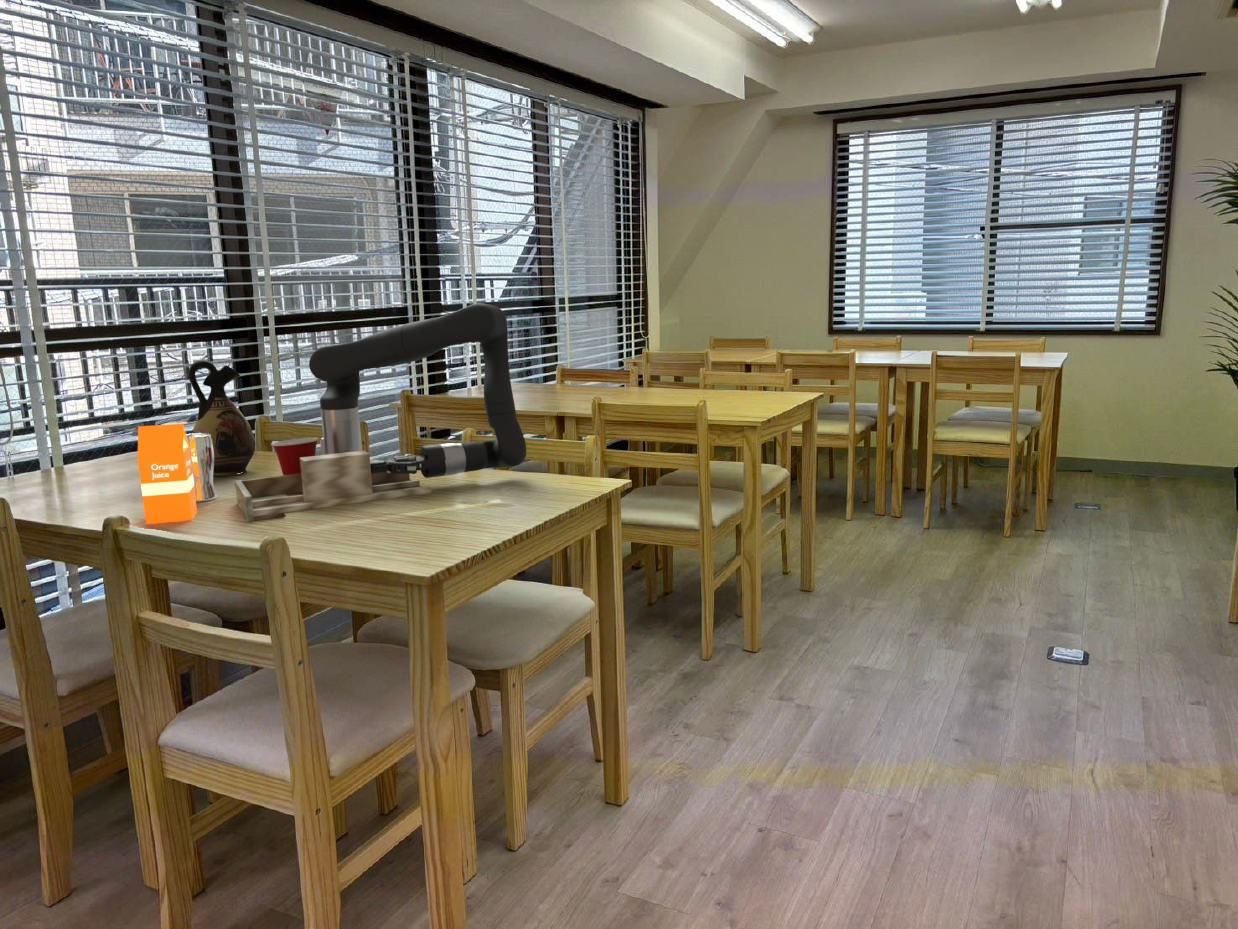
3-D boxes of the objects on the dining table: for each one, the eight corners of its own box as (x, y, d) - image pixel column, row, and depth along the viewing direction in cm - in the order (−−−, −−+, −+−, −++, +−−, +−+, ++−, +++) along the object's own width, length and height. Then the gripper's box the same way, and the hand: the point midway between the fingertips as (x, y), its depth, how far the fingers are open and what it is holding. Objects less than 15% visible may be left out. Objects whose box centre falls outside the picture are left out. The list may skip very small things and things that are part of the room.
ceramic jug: (252, 465, 251) (240, 356, 246) (262, 474, 238) (250, 359, 233) (185, 473, 243) (171, 360, 237) (192, 482, 230) (177, 364, 224)
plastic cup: (304, 481, 227) (300, 434, 225) (332, 485, 221) (327, 437, 219) (266, 490, 219) (261, 440, 216) (293, 494, 212) (288, 444, 210)
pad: (252, 506, 199) (252, 504, 199) (248, 500, 205) (248, 498, 205) (290, 501, 202) (290, 499, 202) (285, 495, 208) (285, 494, 208)
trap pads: (304, 499, 204) (304, 498, 204) (299, 493, 210) (299, 492, 210) (393, 488, 213) (393, 486, 213) (385, 482, 219) (385, 481, 219)
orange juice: (192, 520, 191) (180, 426, 187) (145, 524, 189) (133, 429, 185) (197, 511, 198) (186, 421, 195) (153, 515, 196) (141, 424, 192)
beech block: (308, 506, 197) (303, 461, 195) (304, 502, 201) (299, 457, 199) (373, 497, 203) (369, 453, 201) (367, 493, 208) (364, 450, 206)
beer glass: (212, 494, 216) (205, 431, 213) (223, 498, 211) (216, 434, 208) (181, 499, 211) (173, 435, 208) (192, 503, 206) (184, 438, 203)
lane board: (247, 521, 189) (245, 496, 188) (237, 503, 205) (234, 480, 204) (432, 496, 207) (430, 474, 206) (408, 481, 223) (407, 460, 222)
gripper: (432, 440, 217) (359, 448, 209) (450, 448, 206) (373, 456, 198) (435, 471, 219) (362, 479, 211) (452, 480, 208) (376, 490, 199)
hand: (368, 468), depth 204 cm, fingers closed
